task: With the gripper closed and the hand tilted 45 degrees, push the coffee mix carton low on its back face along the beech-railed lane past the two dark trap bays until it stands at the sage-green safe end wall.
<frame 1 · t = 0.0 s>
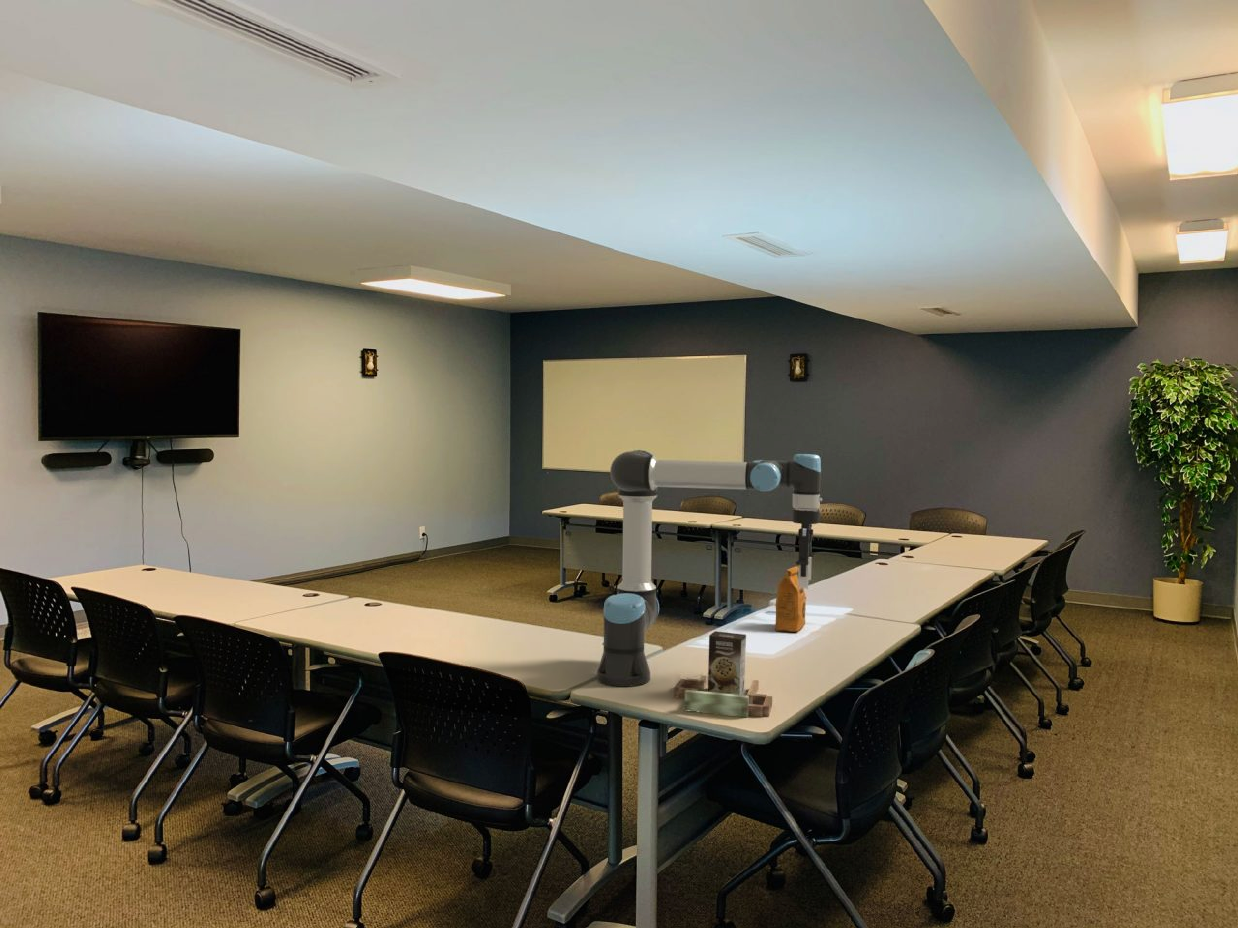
hand: (804, 583, 245), 28 cm above the table, tool pointing down, fingers open, 13 cm apart
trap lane: (722, 699, 230), on the table
coffee package: (790, 629, 308), on the table
coffee box: (726, 693, 235), on the table
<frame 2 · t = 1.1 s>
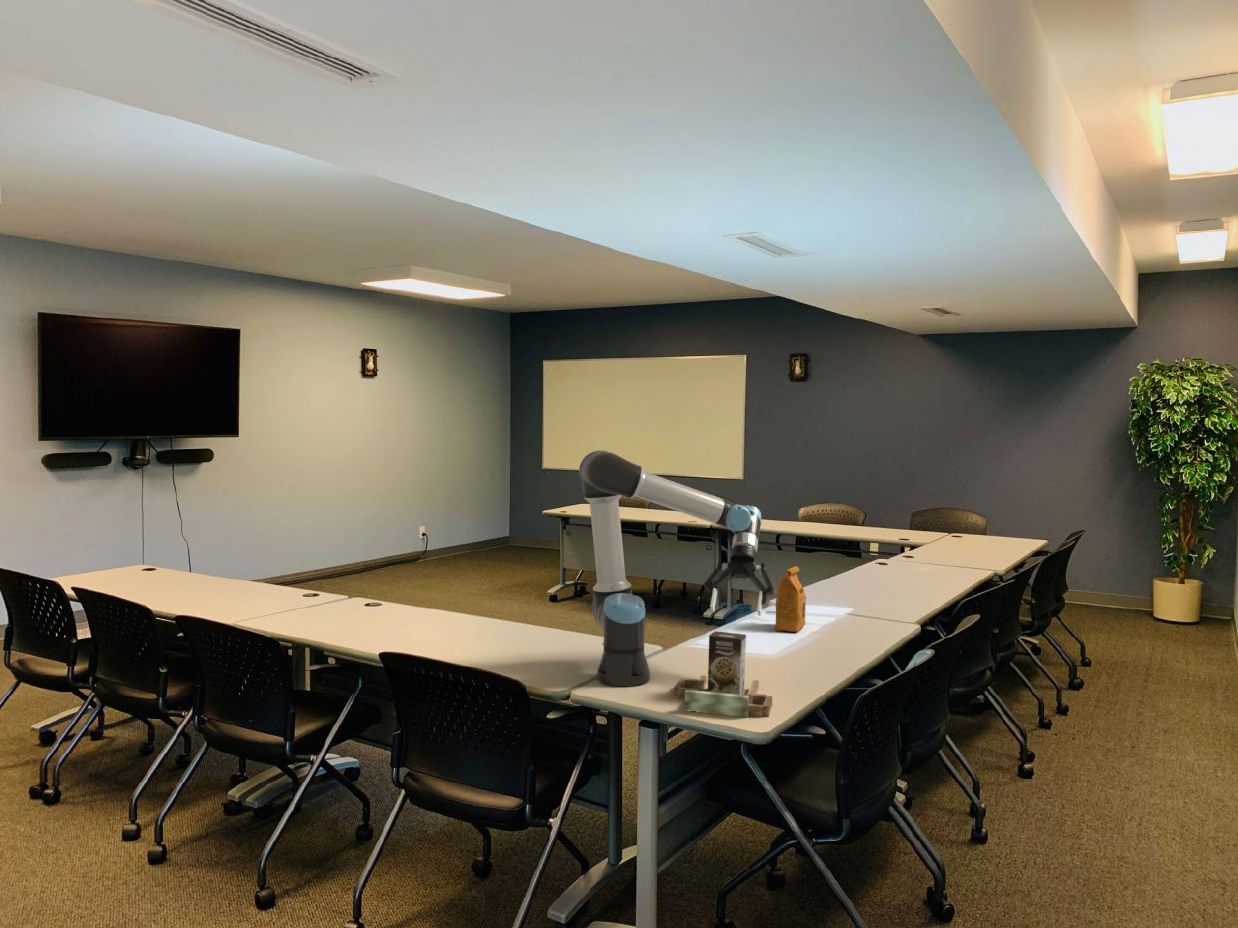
hand: (735, 611, 247), 20 cm above the table, tool tilted 45°, fingers open, 13 cm apart
nothing on the table moved.
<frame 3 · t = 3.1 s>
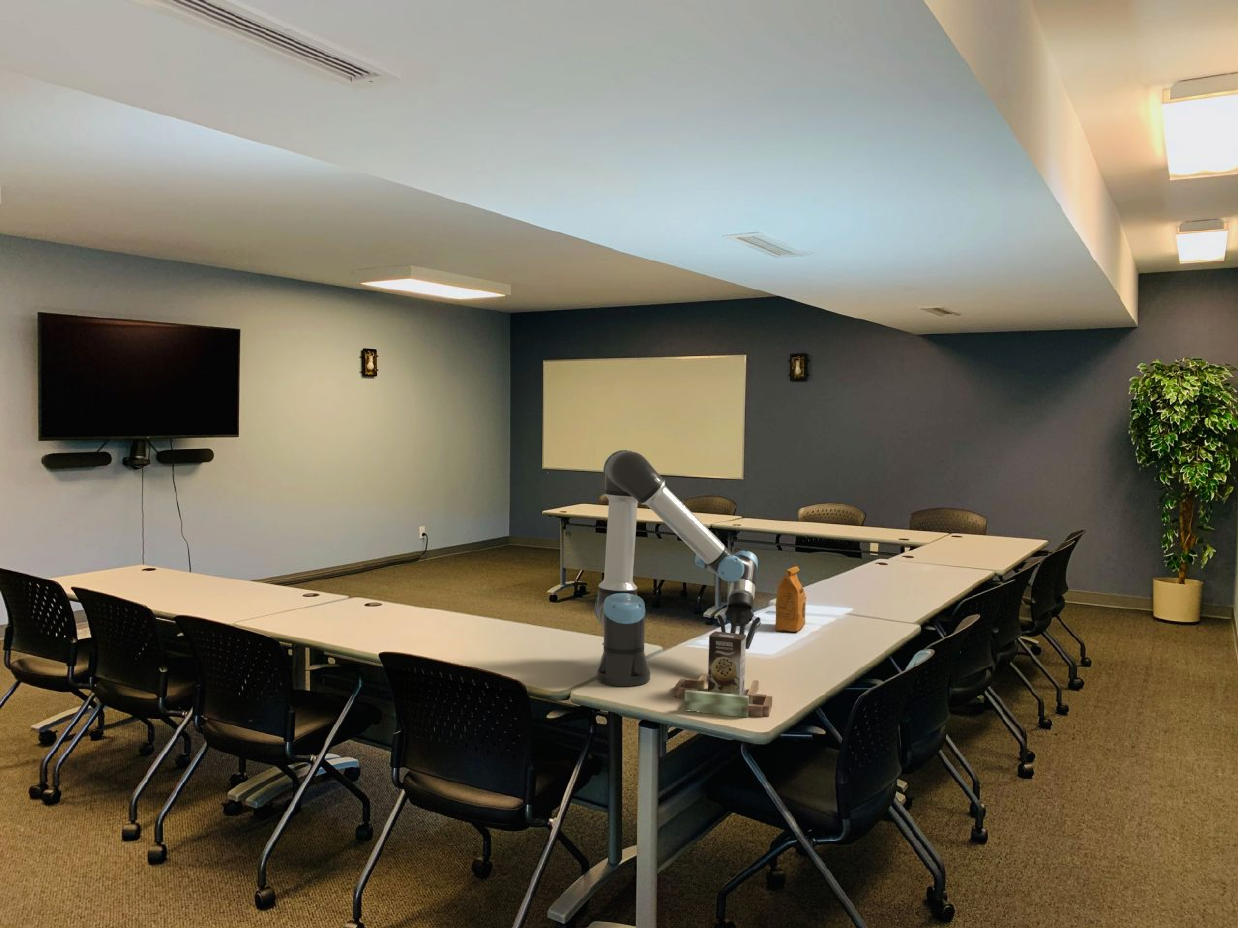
hand: (733, 668, 244), 4 cm above the table, tool tilted 45°, fingers closed
nothing on the table moved.
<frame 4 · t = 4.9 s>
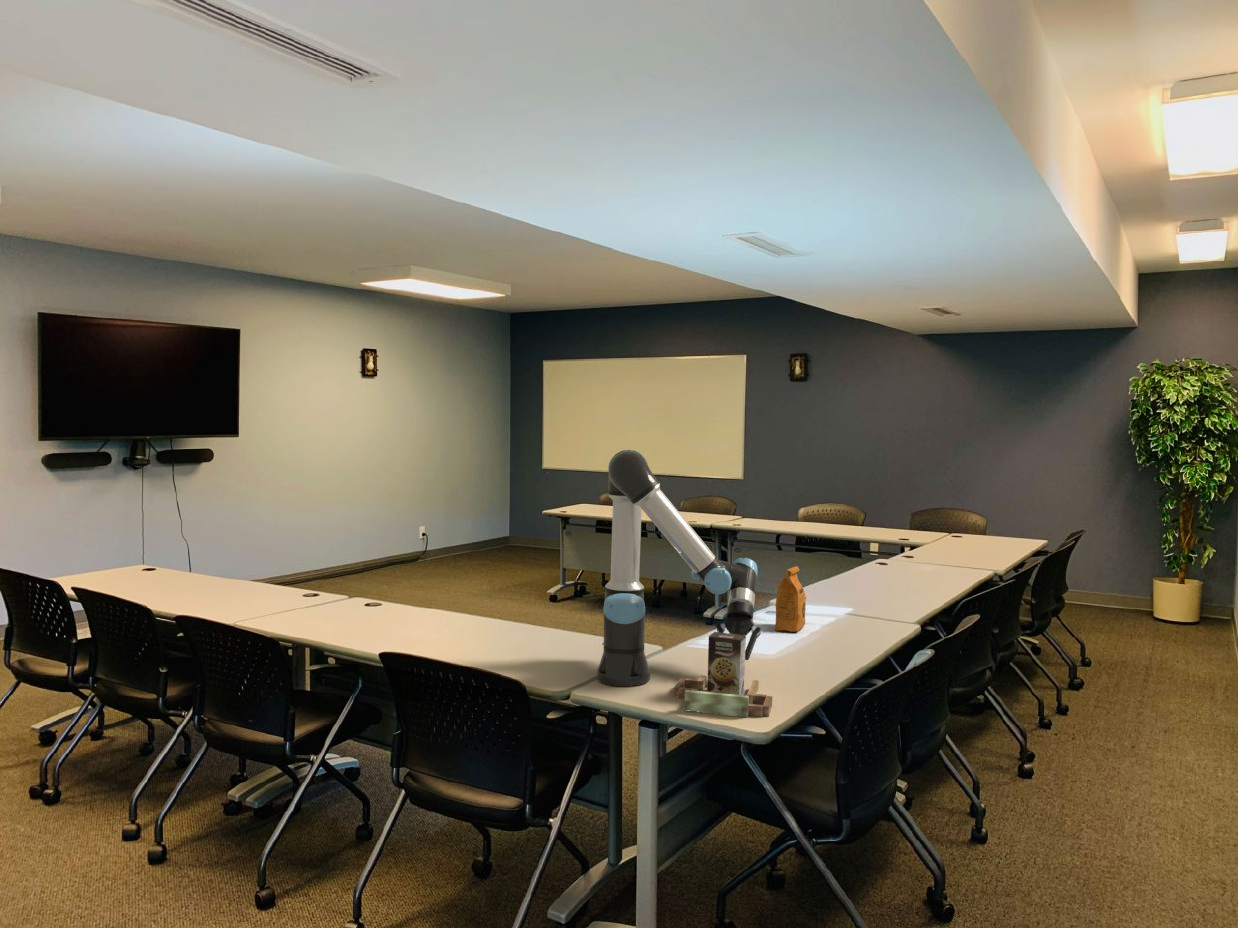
hand: (732, 680, 238), 3 cm above the table, tool tilted 45°, fingers closed
coffee box: (725, 694, 235), on the table, touching gripper
everything else where it was.
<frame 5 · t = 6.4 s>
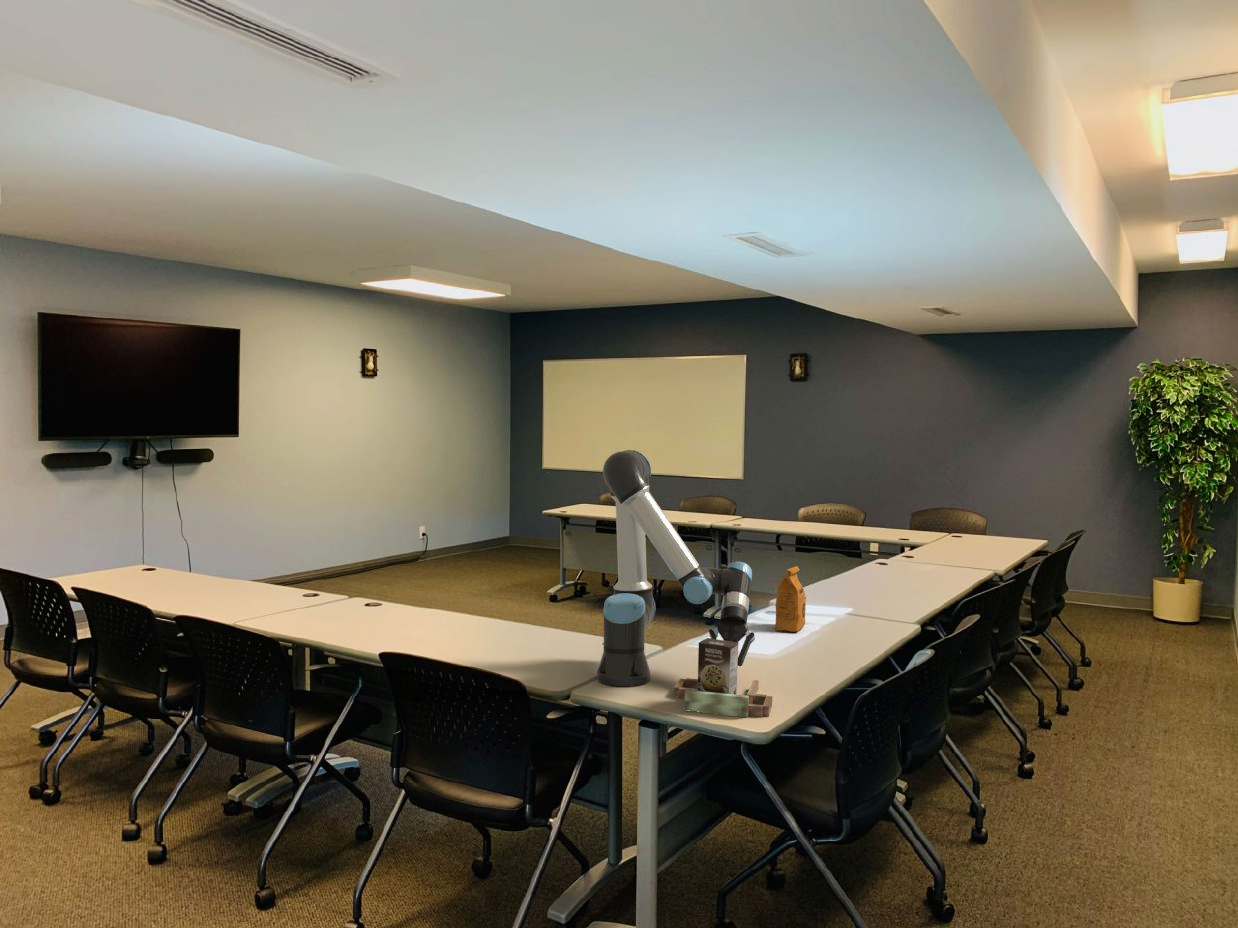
hand: (725, 687, 231), 3 cm above the table, tool tilted 45°, fingers closed
coffee box: (717, 703, 227), on the table, touching gripper
everything else where it was.
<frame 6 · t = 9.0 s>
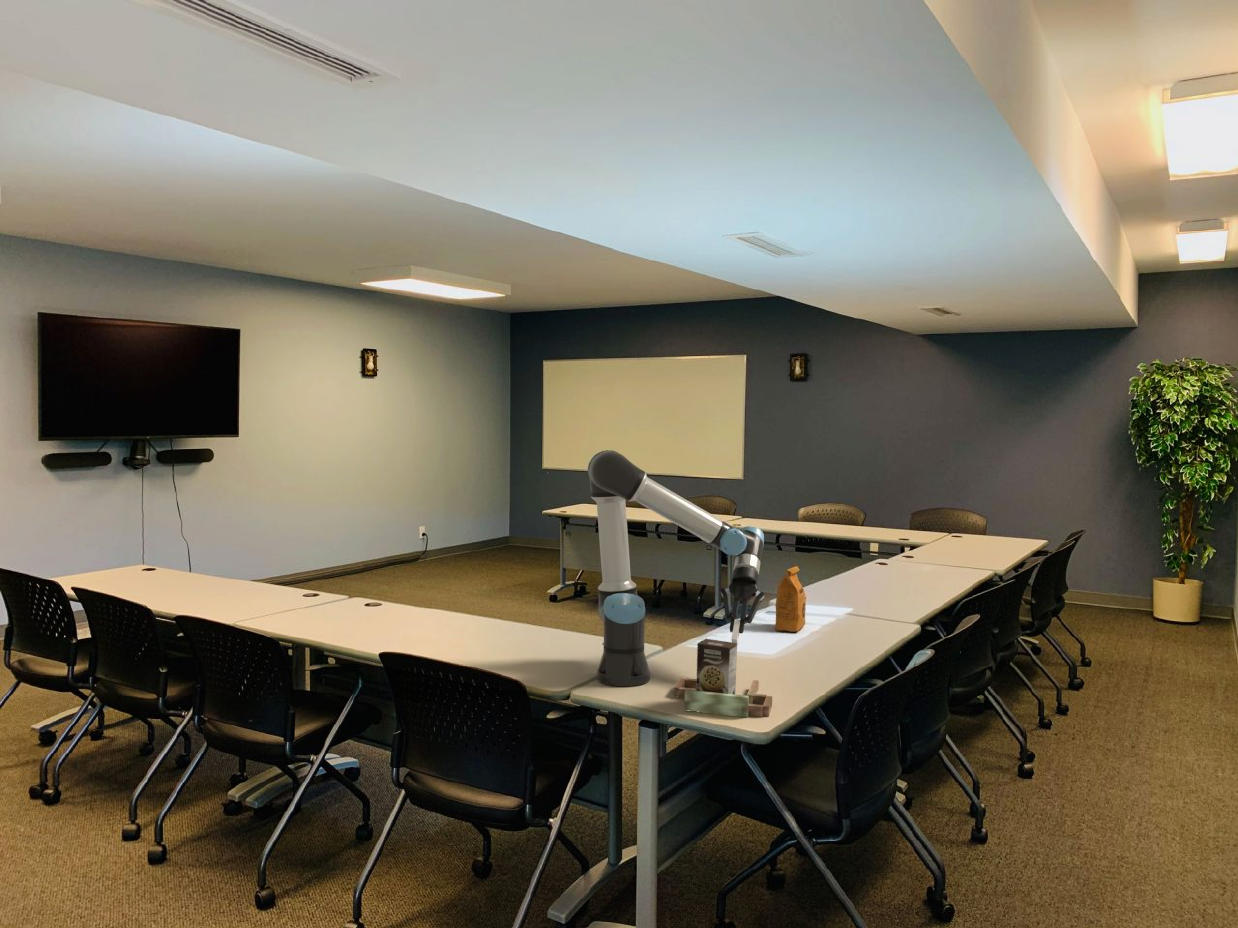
hand: (734, 641, 242), 12 cm above the table, tool tilted 45°, fingers closed
coffee box: (715, 704, 227), on the table
everything else where it was.
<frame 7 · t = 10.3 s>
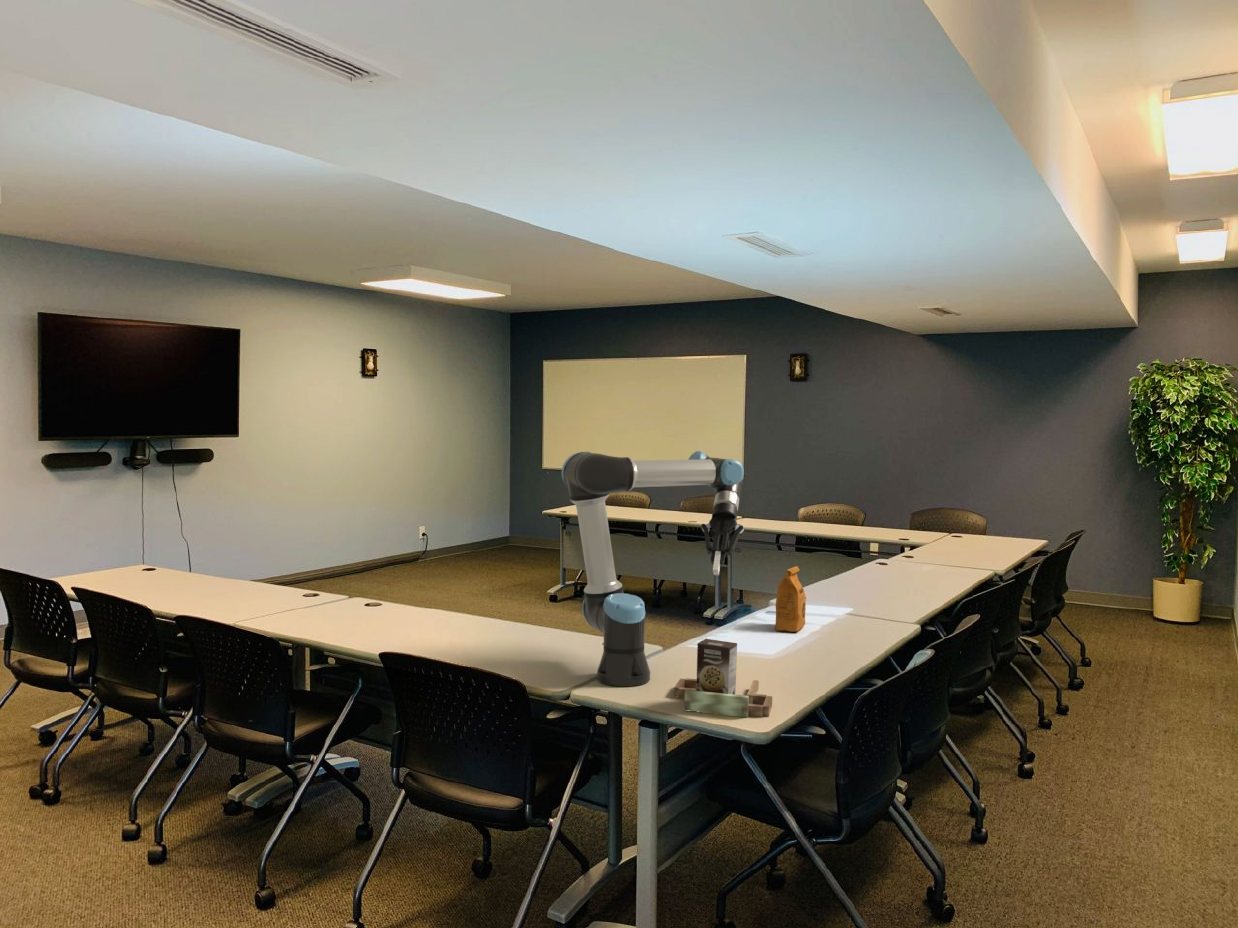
hand: (715, 572, 251), 30 cm above the table, tool tilted 45°, fingers closed
nothing on the table moved.
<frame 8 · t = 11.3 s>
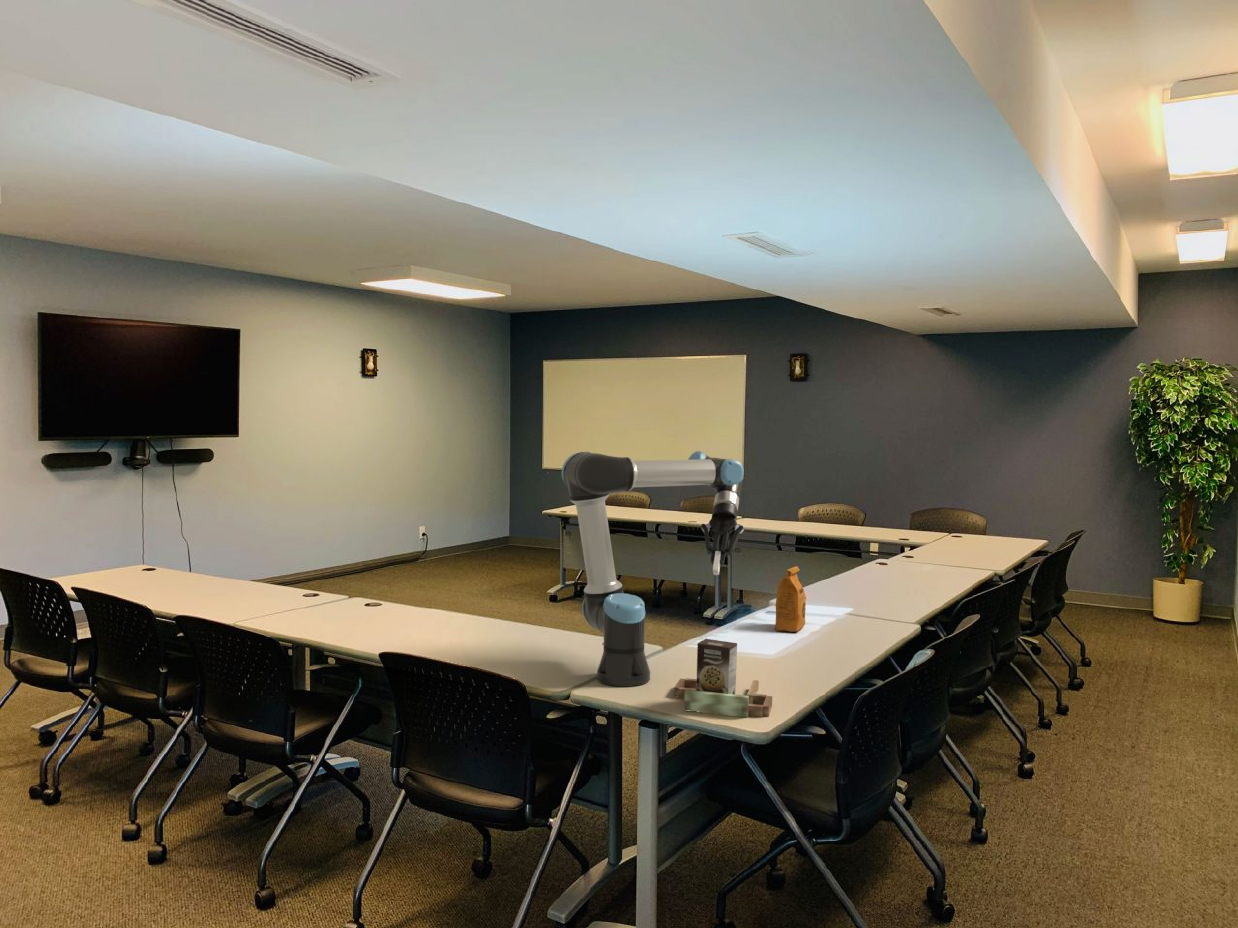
hand: (715, 572, 251), 30 cm above the table, tool tilted 45°, fingers closed
nothing on the table moved.
at the end: coffee box inside the target area (2.0 cm from its centre), on the table; coffee box tilted 0°; coffee box moved 9.3 cm from its start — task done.
